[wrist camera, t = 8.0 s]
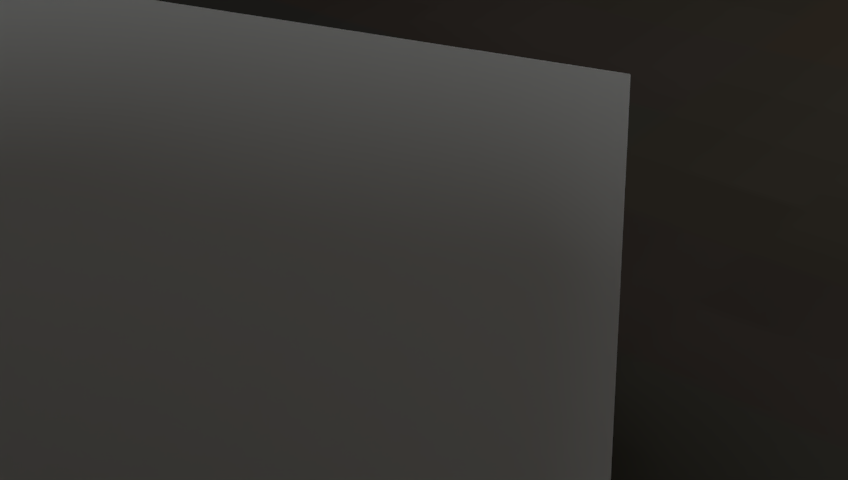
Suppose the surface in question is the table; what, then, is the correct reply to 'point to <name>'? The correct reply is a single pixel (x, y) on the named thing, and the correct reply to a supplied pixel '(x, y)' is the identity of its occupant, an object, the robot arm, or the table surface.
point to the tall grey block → (301, 252)
